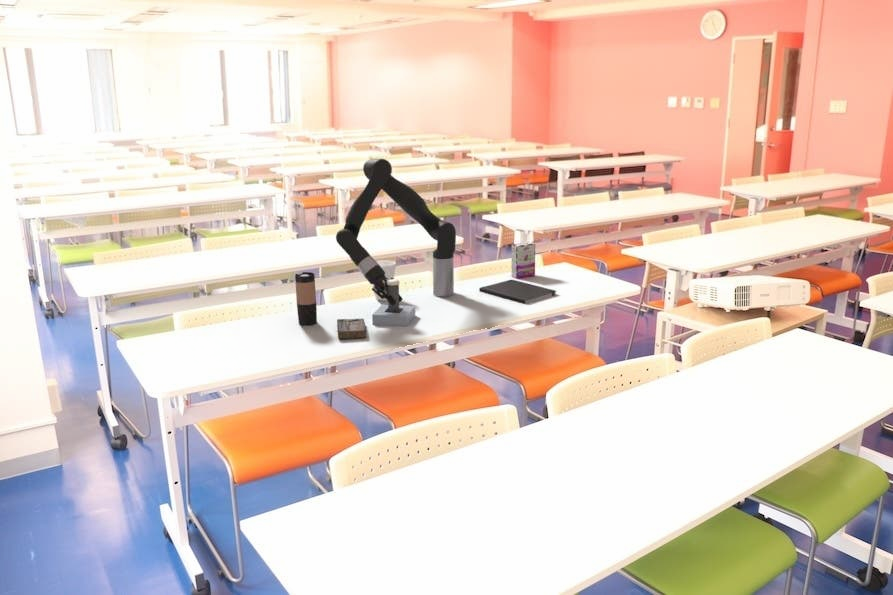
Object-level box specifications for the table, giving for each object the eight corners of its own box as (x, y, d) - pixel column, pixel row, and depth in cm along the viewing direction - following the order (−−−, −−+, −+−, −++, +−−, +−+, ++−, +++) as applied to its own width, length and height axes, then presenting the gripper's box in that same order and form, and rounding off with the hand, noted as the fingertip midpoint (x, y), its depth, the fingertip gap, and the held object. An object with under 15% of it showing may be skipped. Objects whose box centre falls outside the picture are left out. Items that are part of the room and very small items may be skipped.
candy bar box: (529, 273, 366) (530, 241, 362) (535, 276, 362) (536, 243, 358) (510, 276, 361) (511, 244, 357) (516, 279, 357) (516, 245, 352)
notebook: (479, 292, 336) (525, 305, 316) (479, 287, 336) (525, 300, 316) (511, 283, 350) (557, 295, 330) (511, 279, 350) (557, 290, 330)
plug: (389, 315, 299) (388, 279, 295) (401, 315, 298) (400, 279, 294) (386, 318, 295) (385, 282, 290) (398, 319, 294) (397, 282, 289)
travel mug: (315, 325, 290) (312, 276, 284) (296, 325, 290) (292, 276, 285) (319, 319, 297) (316, 271, 292) (300, 319, 298) (297, 272, 292)
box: (337, 339, 273) (337, 331, 273) (336, 326, 290) (336, 318, 289) (366, 338, 275) (366, 330, 274) (364, 325, 292) (364, 317, 291)
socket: (382, 313, 305) (382, 304, 304) (415, 315, 302) (415, 306, 301) (372, 324, 292) (372, 314, 290) (406, 326, 289) (406, 316, 288)
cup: (368, 302, 321) (367, 266, 316) (371, 294, 332) (369, 260, 328) (396, 301, 321) (395, 266, 316) (397, 294, 332) (396, 260, 328)
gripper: (366, 268, 288) (394, 301, 286) (385, 260, 300) (412, 292, 298) (356, 279, 291) (383, 312, 290) (375, 271, 304) (401, 303, 302)
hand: (397, 302), depth 294 cm, fingers closed on plug, 4 cm apart
